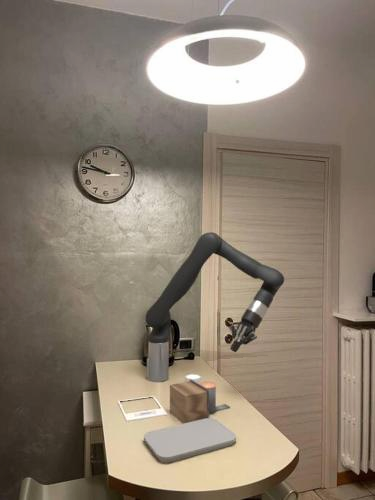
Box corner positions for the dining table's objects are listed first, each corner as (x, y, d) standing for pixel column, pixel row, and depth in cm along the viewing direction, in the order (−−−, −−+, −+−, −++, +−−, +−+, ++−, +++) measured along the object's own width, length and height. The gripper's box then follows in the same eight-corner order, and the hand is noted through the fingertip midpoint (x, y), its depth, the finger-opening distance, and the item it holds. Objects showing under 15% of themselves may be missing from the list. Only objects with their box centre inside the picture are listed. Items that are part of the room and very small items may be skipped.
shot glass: (181, 394, 152) (181, 377, 152) (189, 389, 158) (189, 372, 158) (197, 397, 148) (197, 380, 149) (204, 392, 155) (204, 375, 155)
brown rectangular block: (218, 400, 145) (218, 373, 146) (237, 412, 135) (237, 383, 135) (169, 412, 135) (169, 383, 135) (186, 426, 124) (186, 394, 124)
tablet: (140, 440, 116) (140, 433, 116) (212, 423, 127) (212, 416, 127) (161, 467, 101) (161, 459, 101) (240, 445, 113) (240, 437, 113)
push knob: (209, 404, 140) (209, 380, 140) (218, 410, 134) (218, 385, 135) (196, 408, 137) (196, 383, 137) (204, 414, 132) (204, 388, 132)
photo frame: (126, 419, 127) (117, 400, 144) (126, 423, 127) (117, 403, 144) (167, 413, 133) (153, 395, 149) (167, 416, 133) (153, 398, 149)
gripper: (238, 305, 154) (216, 341, 149) (261, 313, 143) (239, 351, 138) (248, 314, 158) (227, 349, 153) (271, 322, 147) (249, 361, 142)
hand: (232, 350), depth 146 cm, fingers closed
